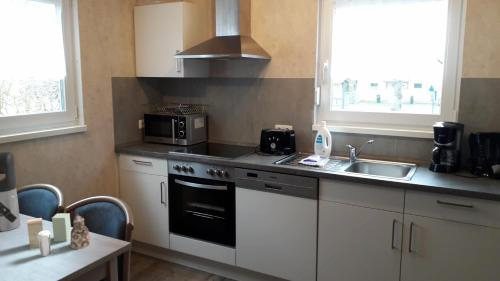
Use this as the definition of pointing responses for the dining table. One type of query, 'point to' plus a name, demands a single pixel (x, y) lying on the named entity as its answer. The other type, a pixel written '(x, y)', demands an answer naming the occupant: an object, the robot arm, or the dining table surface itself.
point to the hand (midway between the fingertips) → (8, 217)
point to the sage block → (61, 227)
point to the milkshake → (44, 242)
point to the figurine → (79, 234)
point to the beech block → (37, 227)
